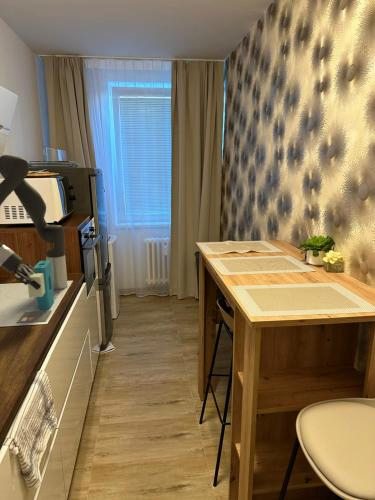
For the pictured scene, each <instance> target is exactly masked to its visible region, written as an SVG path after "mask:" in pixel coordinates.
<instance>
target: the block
mask: <svg viewBox="0 0 375 500" xmlns="http://www.w3.org/2000/svg"><path fill="white" fill-rule="evenodd" d="M32 267H33V268H34V269H35V270H36V271H37V272H38V273H43V275H44V285H45V293H44V295H43V296H42V297H35V298H36V303H37V307H38V311H45V310H51V308H52V307H53V305H54V303H55V302H54V301H55V299H54V294H55V291H54V289H53V279H52V269H51V261H47V260H40V261H38V263H36V264H35V265H34V266H32ZM33 272H34V271H33Z"/></svg>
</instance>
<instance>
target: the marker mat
mask: <svg viewBox="0 0 375 500" xmlns="http://www.w3.org/2000/svg"><path fill="white" fill-rule="evenodd" d="M52 312H53V310H51V309H48V310H37V311H36V310H32V311H31V310H30V311H25V312H23V314H22V315H21V316H20V317H19V319H18V320H17V322H16V324H24V323H42V322H47V320H48V318H49V317H50V315H51V314H52Z"/></svg>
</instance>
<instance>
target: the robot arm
mask: <svg viewBox="0 0 375 500" xmlns="http://www.w3.org/2000/svg"><path fill="white" fill-rule="evenodd" d="M29 172H30V164H29V162H28V161H27V159H26V158H23V157H21V156H15V155H11V154H3V155H0V175H1V176H2V178H3V180H2V181H1V182H0V207H1V206H2V205H3V203H4V202H5V200H6V199H7V198H8V197H9V196H10V195H11V194H12V193H13V192H14V194H15V195H16V197H17V198H18V200H19V202H20V203H21V205H22V207H23V209H24V210H25V211H26V213H27V214H28V216H29V218H30V219H31V221H32V223H33V225H34V227H35V230H36V231H37V233H38V235H39V237H40V239H41V241H42V242H44V243H48V244H53V247H52V248H49V249H47V250H45V258H46V260H45V261H51V269H52V279H53V290H62V289H65V288H67V287H68V276H67V264H66V263H67V262H66V253H65V252H66V236H65V235H66V234H65V228H64V227H63V226H62V225H60V224H59V225H57V224H48V223H47V221H46V219H45V217H46V216H45V215H46V212H47V205H46V203H45V200H44V199H43V196H42V195H41V193H39V191H38V190H37V189H35V188H34V187H33V185H30V183H29V182H28V181H27V180H26V179H25V178H26V177H27V176H28V175H29ZM23 260H24V259H23V258H22V257H21V256H20V255H18V254H17V252H15V251H14V250H13V249H12V248H11V247H8V246H7V245H6V244H4V243H3V242H1V241H0V267H1V268H2V269H4V270H5V271H6V272H7V273H9V274H10V273H12V272H13V273H14V275H13V278H14V279H16V280H17V281H19V282H20V283H22V284H24V285H25V286H28V284H30V285H31V286H33V287H34V288H35V289H36V290H38V289H39V288H40V287H41V285H40V284H38V283H37V282H36V281H35V280H34V281H33V279H32V278H31V275H30V274H37V273H38V272H37V271H36V270H35V269H34V268H33V267H34V266H32V265H31V264H30V263H26V264H25V263H22V262H23ZM33 271H34V272H33Z"/></svg>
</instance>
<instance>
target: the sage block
mask: <svg viewBox="0 0 375 500" xmlns="http://www.w3.org/2000/svg"><path fill="white" fill-rule="evenodd" d="M30 275H31V278H32V279H33V281H34V280H35V281H36V282H37V283H38V284H40V285H41V287H40V288H39V289H38V290H36V289H35V288H34V287H33V286H31V285H30V284H27V290H28V297H29V298H36V297H42V296H43V295H44V293H45V285H44V275H43V273H37V274H30Z"/></svg>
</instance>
